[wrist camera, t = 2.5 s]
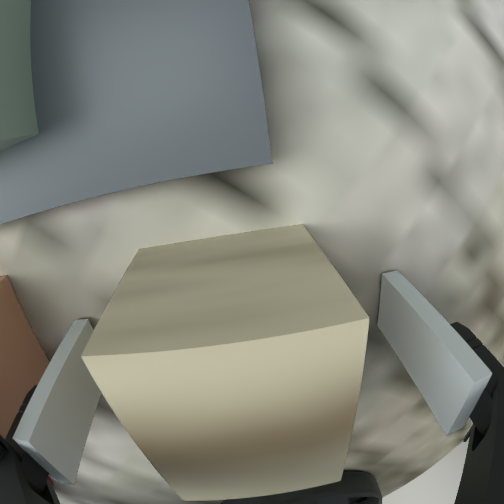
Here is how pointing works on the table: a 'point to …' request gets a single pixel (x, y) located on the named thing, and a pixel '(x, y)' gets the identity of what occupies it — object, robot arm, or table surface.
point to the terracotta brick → (16, 356)
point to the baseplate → (123, 97)
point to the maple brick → (234, 363)
